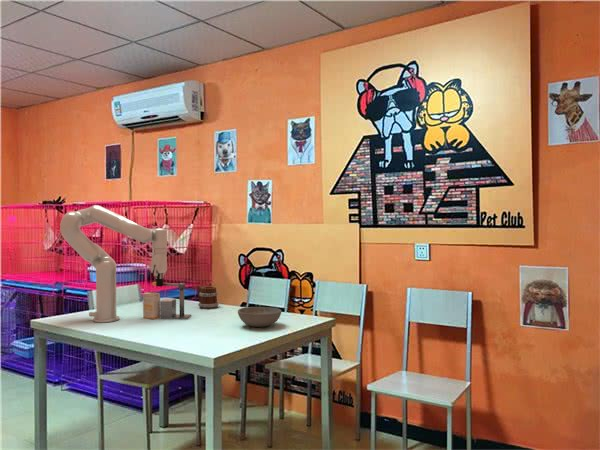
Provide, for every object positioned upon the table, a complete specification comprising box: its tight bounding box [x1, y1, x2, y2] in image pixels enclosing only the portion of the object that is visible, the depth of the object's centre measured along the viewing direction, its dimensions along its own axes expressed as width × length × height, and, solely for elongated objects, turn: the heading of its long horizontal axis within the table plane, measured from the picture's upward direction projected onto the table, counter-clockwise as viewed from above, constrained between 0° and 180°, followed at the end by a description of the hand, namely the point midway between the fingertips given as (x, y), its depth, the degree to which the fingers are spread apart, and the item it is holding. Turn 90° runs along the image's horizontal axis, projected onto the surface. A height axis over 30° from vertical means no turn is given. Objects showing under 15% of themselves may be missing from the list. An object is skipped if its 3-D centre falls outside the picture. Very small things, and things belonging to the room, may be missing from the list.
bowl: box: [237, 306, 283, 328], centre depth 233 cm, size 21×21×8 cm
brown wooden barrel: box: [196, 284, 219, 310], centre depth 284 cm, size 12×14×15 cm
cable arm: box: [151, 281, 186, 289], centre depth 257 cm, size 20×4×2 cm, turn 64°
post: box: [171, 288, 192, 320], centre depth 253 cm, size 8×8×16 cm
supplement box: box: [142, 291, 161, 320], centre depth 254 cm, size 8×5×13 cm, turn 58°
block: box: [159, 298, 177, 320], centre depth 254 cm, size 6×8×9 cm
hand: (159, 286), depth 256 cm, fingers closed
